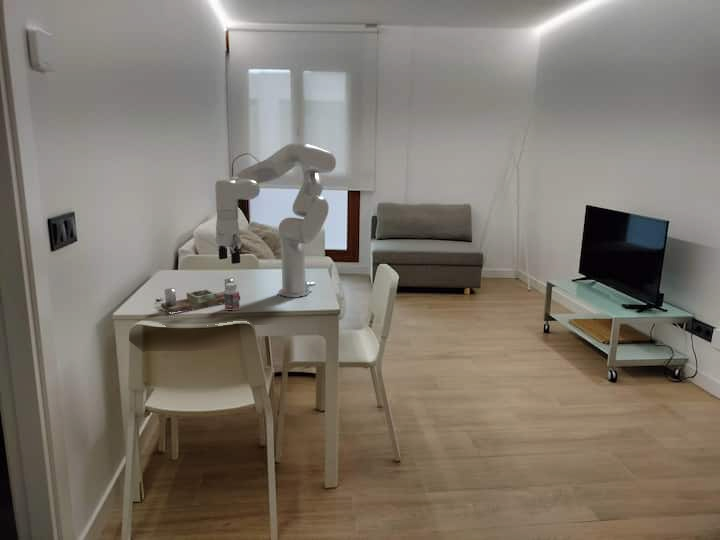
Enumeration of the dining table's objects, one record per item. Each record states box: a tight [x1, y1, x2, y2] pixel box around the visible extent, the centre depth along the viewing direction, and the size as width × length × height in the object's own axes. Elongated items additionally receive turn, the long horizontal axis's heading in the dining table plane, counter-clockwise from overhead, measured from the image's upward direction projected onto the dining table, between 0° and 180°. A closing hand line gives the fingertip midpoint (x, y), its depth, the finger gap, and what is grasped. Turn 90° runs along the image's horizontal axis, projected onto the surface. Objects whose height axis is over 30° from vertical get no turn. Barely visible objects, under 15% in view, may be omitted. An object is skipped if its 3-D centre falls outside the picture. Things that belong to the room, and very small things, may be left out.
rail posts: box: [164, 277, 235, 307], centre depth 204 cm, size 28×4×6 cm, turn 131°
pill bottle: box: [223, 282, 240, 311], centre depth 199 cm, size 5×5×10 cm
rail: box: [160, 288, 241, 313], centre depth 205 cm, size 28×9×4 cm, turn 131°
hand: (229, 261), depth 196 cm, fingers open, 9 cm apart
